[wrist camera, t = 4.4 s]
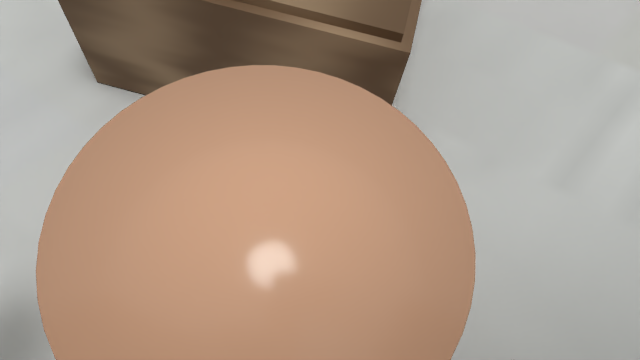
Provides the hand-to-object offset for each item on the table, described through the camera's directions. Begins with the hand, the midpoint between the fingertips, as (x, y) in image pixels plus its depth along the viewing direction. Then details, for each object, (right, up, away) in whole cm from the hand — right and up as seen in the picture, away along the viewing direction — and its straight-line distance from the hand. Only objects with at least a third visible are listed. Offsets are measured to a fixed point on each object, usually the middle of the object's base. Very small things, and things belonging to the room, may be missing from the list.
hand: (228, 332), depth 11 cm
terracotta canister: (0, -3, +6) cm, 7 cm away
